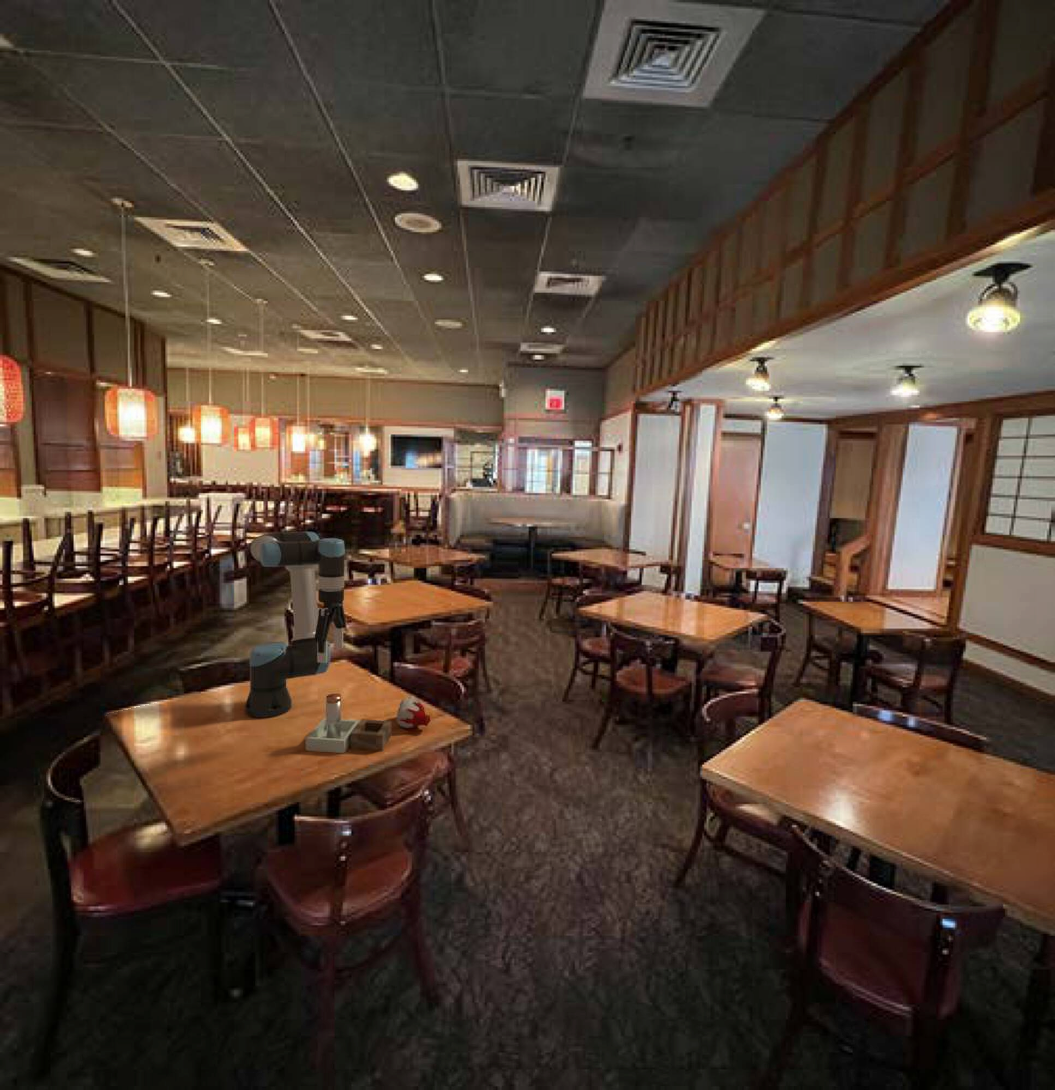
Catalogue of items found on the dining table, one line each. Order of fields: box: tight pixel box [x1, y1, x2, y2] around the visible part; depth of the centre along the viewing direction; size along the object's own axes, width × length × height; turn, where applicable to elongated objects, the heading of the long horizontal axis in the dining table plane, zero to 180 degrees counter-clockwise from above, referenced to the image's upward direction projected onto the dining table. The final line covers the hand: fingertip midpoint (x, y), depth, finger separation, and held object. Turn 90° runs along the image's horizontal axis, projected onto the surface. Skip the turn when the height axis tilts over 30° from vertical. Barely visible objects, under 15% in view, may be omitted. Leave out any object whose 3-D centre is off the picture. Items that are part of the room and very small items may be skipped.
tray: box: [305, 717, 361, 754], centre depth 177 cm, size 14×12×4 cm
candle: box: [396, 695, 431, 730], centre depth 190 cm, size 9×11×15 cm
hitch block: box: [350, 718, 392, 752], centre depth 177 cm, size 10×10×5 cm
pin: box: [325, 693, 342, 739], centre depth 176 cm, size 4×4×14 cm
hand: (330, 654), depth 173 cm, fingers open, 13 cm apart
